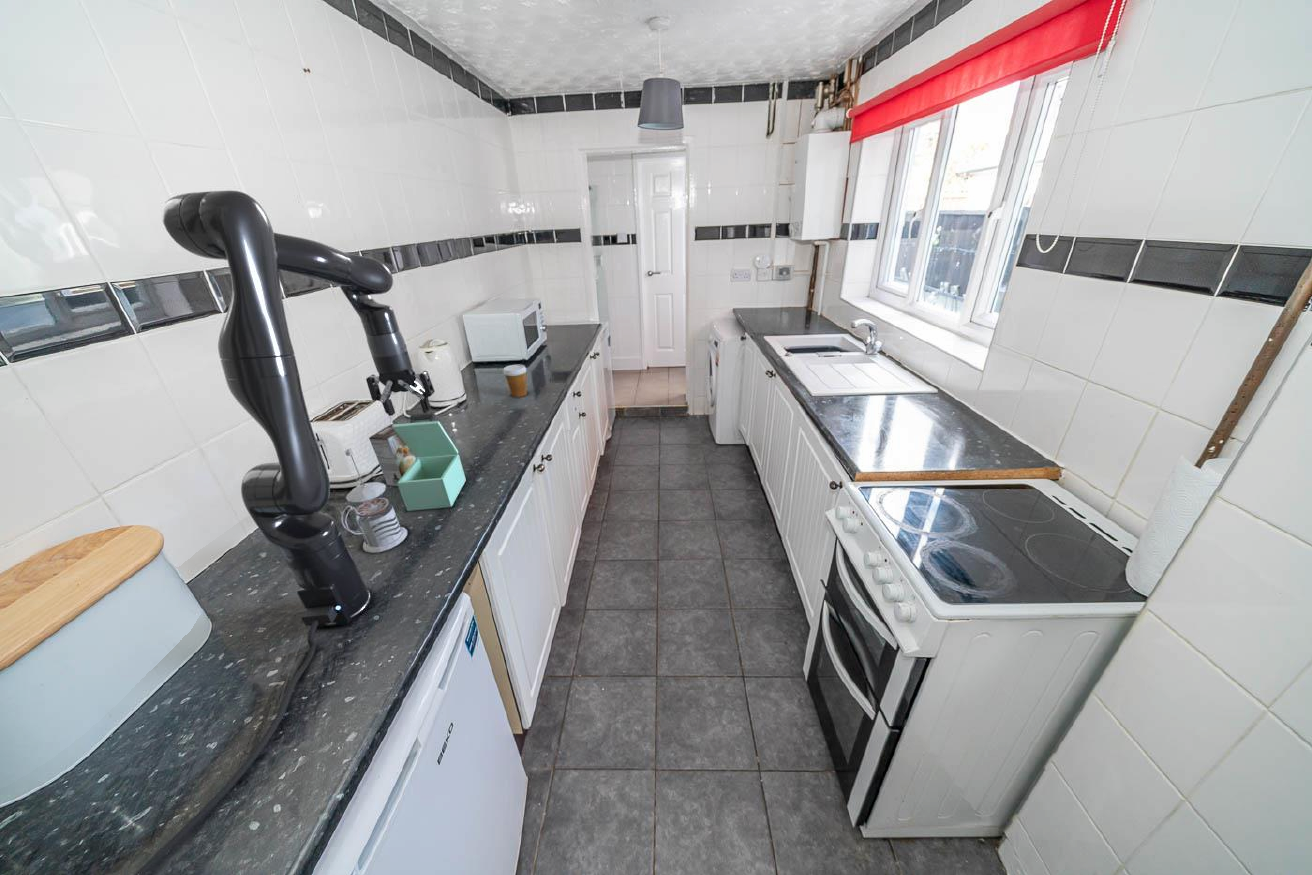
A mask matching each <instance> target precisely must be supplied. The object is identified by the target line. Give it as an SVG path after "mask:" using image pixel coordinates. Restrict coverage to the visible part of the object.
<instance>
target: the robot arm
mask: <svg viewBox="0 0 1312 875" xmlns="http://www.w3.org/2000/svg"><path fill="white" fill-rule="evenodd" d="M161 219H162V223H163V226H164V228H165V230H166V232H167V233H168V235H169V236H170V238H171V239H172V240H173V241H174V242H175V243H176V244H177V245H178V246H180V247H181V248H183V249H184V250H186V251H187V252H189V253H191V254H193V255H195V256H198V257H201V258H205V259H212V260H222V261H227V265H228V268H229V274H230V280H231V297H230V298H231V299H230V303H229V306H228V309H227V312H226V315H225V317H224V319H223V323H222V326H221V329H220V332H219V336H218V343H217V349H218V350H217V351H218V356H219V359H220V363H221V367H222V371H223V375H224V378H225V382H226V385H227V388H228V390H229V392H230V394H231V395H232V396H233V398H234V400H236V401H237V402H238V404H239V405H240V406H241V407H242V408H243V409H244V410H245V411H246V412H247V414H248V415H249V416H250V417H251V418H252V419H253V420H254V421H255V422H256V423H257V424H258V425H259V426H260V427H261V428H262V429H263V430H264V432H265V434H266V435H267V436H268V437H269V439H270V441H271V443H272V445H273V447H274V450H275V453H276V457H277V460H278V462H265V463H260V464H258V465H255V466H253V467H252V468H250V469H249V470H248V471H247V472H246V473H245V475H244V476H243V479H242V481H241V486H240V493H241V494H240V495H241V498H242V502H243V505H244V507H245V509H246V511H247V513H248V514H249V516H250V517H251V519H252V520H253V522H254V523H255V525H256V526H257V528H258V529H259V531H260V532H261V534H262V535H263V537H264V538H265V540H266V541H267V542H268V543H269V544H270V545H272V546H273V547H275V548H277V550H278V551H279V553H280V554H281V556H282V558H283V560H284V562H285V563H286V565H287V567H288V569H289V571H290V572H291V574H292V576H293V578H294V579H295V581H296V583H297V586H298V587H299V588H298V589H297V590H296V594H297V595H298V597H299V599H300V601H301V603H302V604H303V606H304V608H305V609H306V610H305V611H304V612H303V614H301V616H300V619H301V620H302V622H303V624H304V626H305V627H308V626H310V627H309V630H308V634H307V643H308V645H309V646H308V647H309V648H308V652H307V656H306V657H305V660H304V661H303V663H302V665H301V666H300V667H299V669H298V670H297V671H296V672H295V674H294V675H293V677H292V679H291V680H290V683H288V685H287V689H286V691H285V693H284V696H283V698H282V701H281V704H280V705H279V708H278V711H277V713H276V715H275V717H274V719H273V721H272V723H271V725H270V726H269V728H268V729H267V731H266V733H265V734H264V735H263V737H262V739H261V740H260V742H259V743H258V744H257V746H256V747H255V749H254V750H253V751H252V753H251V754H250V755H249V756H248V758H247V759H246V760H245V761H244V762H243V764H242V765H241V766H240V768H238V770H237V771H236V772H235V773H234V775H233V776H232V777H231V778H230V779H229V780H228V781H227V783H226V784H225V785H224V786H223V787H222V788H221V789H220V790H219V792H217V794H215V795H214V797H213V798H212V799H211V800H209V802H208V803H207V804H206V805H204V807H203V808H201V810H200V811H199V812H198V813H197V814H195V815H194V816H193V817H192V818H191V819H190V820H189V822H187V823H186V824H185V825H184V826H183V827H182V828H181V829H180V830H179V831H177V833H176V834H175V835H174V836H173V837H172V838H171V839H170V840H169V841H167V843H166V844H164V845H163V847H161V848H160V850H158V851H157V852H156V853H155V854H154V855H153V856H152V857H151V858H150V859H149V860H148V861H147V862H145V863H144V865H143V866H141V867H140V868H139V869H138V870H137V871H136V872H135V873H133V875H138V874H139V875H146V874H148V872H149V871H150V870H151V869H153V867H154V866H155V865H156V864H157V863H158V862H160V861H161V860H162V859H163V858H164V857H165V856H166V855H167V854H168V853H169V852H171V850H172V849H173V848H174V847H175V846H176V845H177V844H179V842H180V841H182V839H183V838H184V837H185V836H186V835H187V834H188V833H189V832H190V831H191V830H192V829H193V828H194V827H195V826H196V825H197V824H198V823H200V821H201V820H202V819H203V818H204V817H206V816H207V814H209V812H211V811H212V810H213V809H214V808H215V806H217V804H219V802H220V801H221V800H222V799H223V798H224V797H225V796H226V795H227V794H228V793H229V791H231V789H233V787H234V786H235V785H236V784H237V783H238V782H239V780H240V779H241V778H242V777H243V776H244V775H245V773H246V772H247V771H248V769H249V768H250V767H251V766H252V764H253V763H254V762H255V761H256V760H257V759H258V757H259V756H260V754H261V753H262V751H264V749H265V748H266V747H267V744H268V743H269V741H270V740H271V738H272V737H273V735H274V733H275V732H276V730H277V728H278V727H279V726H280V723H281V721H282V719H283V717H284V715H285V713H286V711H287V709H288V707H289V703H290V700H291V698H292V695H293V692H294V690H295V687H296V685H297V683H298V682H299V679H300V678H301V677H302V675H303V674H304V672H305V671H306V669H307V667H308V666H309V664H310V662H311V660H312V659H313V656H314V655H315V653H316V648H317V642H316V641H315V635H316V634H315V633H316V630H317V628H324V627H336V626H344V625H345V626H346V625H349V624H350V623H351V621H352V620H353V619H355V618H357V617H358V616H359V615H361V614H362V613H363V612H364V611H365V610H366V609H367V608H368V606H369V605H370V604H371V600H372V595H371V592H370V590H368V588H367V585H366V583H365V581H364V578H363V577H362V575H361V572H360V570H359V568H358V565H357V563H356V562H355V558H354V557H353V555H352V553H351V551H350V548H349V547H348V544H347V542H346V539H345V537H344V536H343V533H342V531H341V529H340V526H339V525H338V522H337V520H336V519H335V517H333V516H332V515H330V514H327V513H324V512H321V510H323V509H324V508H325V506H326V505H327V504H328V502H329V499H330V494H331V482H330V477H329V473H328V469H327V466H326V464H325V461H324V457H323V455H322V453H321V452H322V451H321V449H320V447H319V444H318V441H317V438H316V436H315V433H314V430H313V426H312V423H311V420H310V416H309V411H308V407H307V404H306V400H305V396H304V393H303V387H302V382H301V377H300V376H301V375H300V372H299V371H300V370H299V367H298V366H299V365H298V362H297V358H296V355H295V354H296V353H295V350H294V346H293V344H292V343H293V342H292V339H291V336H290V335H291V334H290V332H289V327H288V321H287V315H286V312H285V305H284V300H283V295H282V288H281V279H280V271H283V272H287V273H290V274H295V275H298V276H302V277H305V278H308V279H311V280H314V281H318V282H322V283H325V284H328V285H331V286H337V287H339V288H340V290H341V291H342V293H343V295H344V296H345V298H346V299H347V301H348V302H349V303H350V306H352V308H353V310H354V311H355V312H356V314H357V316H358V317H359V319H360V323H361V325H362V328H363V331H364V333H365V337H366V343H367V346H368V349H369V352H370V354H371V358H372V360H373V363H374V367H375V369H376V371H377V373H378V375H376V374H371V375H369V376H367V377H366V379H365V381H366V384H367V387H368V391H369V394H370V398H371V400H372V401H374V402H377V401H378V402H381V404H382V407H383V410H384V413H386V414H387V415H388V416H389V417H391V416H394V415H395V414H396V410H395V407H394V405H393V402H392V399H390V397H391V396H392V394H393V393H395V394H396V393H399V392H401V393H402V392H403V393H408V392H409V393H411V394H412V395H415V396H416V397H417V398H419V403H420V406H421V409H422V414H423V413H429V411H430V410H431V407H432V406H431V403H430V400H429V398H430V397H431V396H432V395H433V394H434V393H435V388H434V386H433V382H432V379H431V377H430V374H429V372H428V370H422V371H421V372H415V371H414V370H413V365H412V361H411V358H410V354H409V352H408V349H407V344H406V343H405V339H404V336H403V334H402V333H401V330H400V326H399V322H398V320H397V317H396V314H395V311H394V309H393V307H392V306H390V305H388V304H384V303H381V302H380V303H379V302H377V301H376V300H374V298H373V297H372V295H373V296H374V295H383V294H386V293H388V292H389V291H391V289H392V288H393V284H394V277H393V274H392V272H391V270H390V269H389V268H388V267H387V266H386V264H384V263H383V262H381V261H380V260H377V259H375V258H371V257H369V256H368V257H367V256H362V255H358V254H353V253H347V252H344V251H342V250H339V249H337V248H334V247H332V246H330V245H328V244H325V243H323V242H319V241H316V240H313V239H308V238H304V237H300V236H293V235H290V234H289V235H288V234H285V233H278V232H274V230H273V226H272V223H271V221H270V219H269V216H268V214H267V212H266V210H264V208H263V207H262V206H261V204H260V203H259V202H258V201H257V200H256V199H255V198H253V196H250V195H249V194H248V193H245V192H243V191H238V190H210V191H198V192H197V191H196V192H187V193H181V194H177V195H175V196H172V197H170V198H169V199H168V200H167V201H165V202H164V204H163V206H162V209H161ZM416 380H418V381H419V382H421V384H422V386H421V384H419V383H418V382H417V381H416ZM380 383H381V385H383V386H384V389H383V391H382V392H381V390H380V385H379V384H380Z"/></svg>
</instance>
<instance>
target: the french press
mask: <svg viewBox="0 0 1312 875" xmlns="http://www.w3.org/2000/svg"><path fill="white" fill-rule="evenodd" d="M344 454H345V456H347V457H350V458H351V460H352V462H353V465H354V467H355V470H356V472H357V474H358V477H359V479H360V482H361V484H360V485H358V486H356V487H354V488H352V490H351V491H350V492H349V493H347V495H346V497H345V500H346V501H347V502H348V503H352V504H358V506H357V507H354V506H352V505H346V507H345V508H344V509H343V511H342V513H341V516H340V522H341V525H342V527H343V528H344V529H345V531H347V532H349V533H351V534H352V535H361V536H362V538H363V540H364V542H363V544H362V549H363V551H364V552H367V553H371V554H372V553H382V552H385V551H388V550H390V549H392V548H395V547H396V546H398V545H400V544H401V543H402V542H403V541H405V539H406V538H407V536H408V530H407V529H406V528H405V527H403V526H401V525H400V522H399V519H398V517H397V514H396V512H395V508H394V506H393V504H392V503H390V500H389V499H388V498H385V497H380V496H381V495H383V494H384V492H385V491H386V487H387V484H385V483H383V482H378V481H376V482H375V481H372V482H366V483H364V482H363V480H362V477H361V474H360V472H359V470H358V467H357V465H356V463H355V460H354V457H353V455H355V454H356V451H355V449H354V448H347V449H345V451H344ZM348 508H350V509H349V510H348V511H347V513H346V515H345V518H344V513H345V511H346V510H347V509H348ZM350 512H354V514H355V520H356V523H357V526H358V527H359V530H351V529H350V528H349V525H348V522H347V521H348V519H347V518H348V516H349V513H350ZM372 516H373V517H372ZM375 516H376V517H375ZM367 517H369V518H367ZM365 518H366V519H365ZM364 519H365V520H364ZM343 520H344V521H343ZM344 522H345V523H344Z"/></svg>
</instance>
